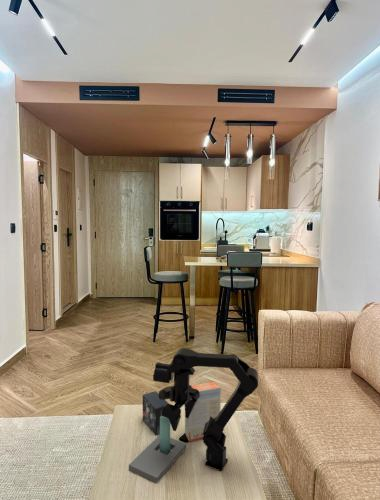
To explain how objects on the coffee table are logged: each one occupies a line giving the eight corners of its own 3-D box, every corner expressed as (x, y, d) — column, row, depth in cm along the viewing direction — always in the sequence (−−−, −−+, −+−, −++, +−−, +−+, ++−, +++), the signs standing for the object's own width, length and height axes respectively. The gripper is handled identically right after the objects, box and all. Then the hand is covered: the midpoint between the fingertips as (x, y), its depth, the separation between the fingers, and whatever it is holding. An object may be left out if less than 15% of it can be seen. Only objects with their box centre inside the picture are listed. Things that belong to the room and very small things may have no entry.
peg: (172, 451, 128) (172, 416, 127) (166, 457, 124) (166, 422, 123) (163, 447, 130) (163, 413, 129) (157, 453, 126) (157, 418, 125)
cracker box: (214, 427, 143) (215, 380, 142) (220, 435, 138) (221, 387, 136) (184, 433, 139) (184, 385, 137) (188, 442, 133) (189, 392, 131)
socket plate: (186, 448, 129) (186, 443, 129) (156, 483, 112) (156, 477, 112) (160, 438, 135) (160, 433, 135) (128, 470, 118) (128, 464, 118)
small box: (141, 420, 148) (141, 394, 147) (155, 415, 152) (155, 390, 151) (155, 436, 137) (155, 408, 136) (169, 430, 141) (170, 403, 140)
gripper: (176, 369, 134) (175, 406, 136) (148, 389, 118) (148, 430, 119) (200, 375, 129) (199, 414, 130) (175, 397, 113) (174, 441, 114)
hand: (181, 424), depth 124 cm, fingers open, 9 cm apart
